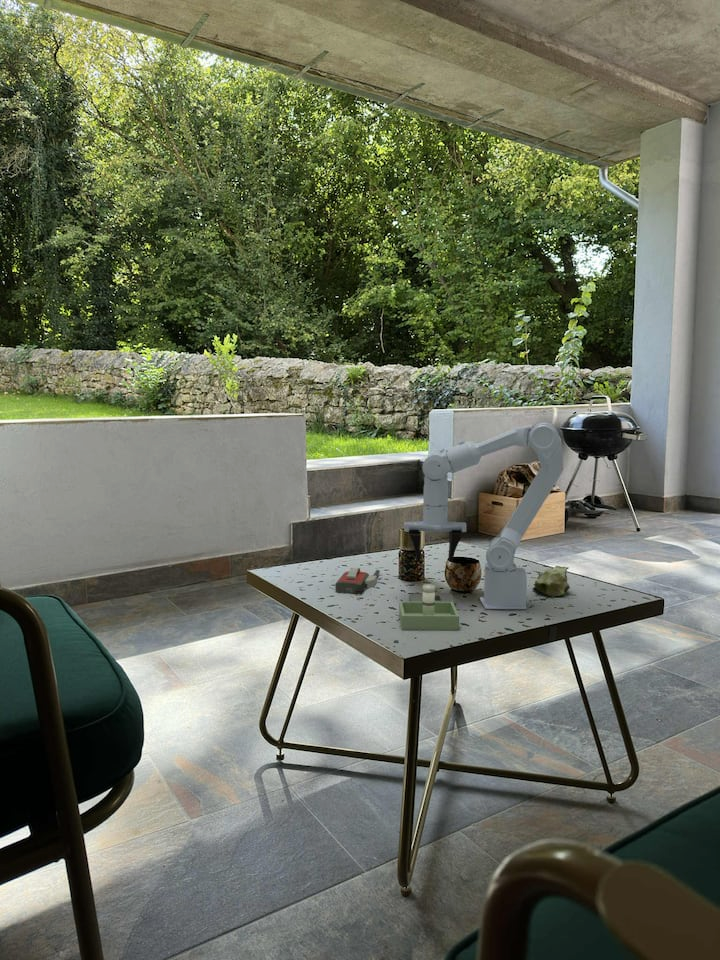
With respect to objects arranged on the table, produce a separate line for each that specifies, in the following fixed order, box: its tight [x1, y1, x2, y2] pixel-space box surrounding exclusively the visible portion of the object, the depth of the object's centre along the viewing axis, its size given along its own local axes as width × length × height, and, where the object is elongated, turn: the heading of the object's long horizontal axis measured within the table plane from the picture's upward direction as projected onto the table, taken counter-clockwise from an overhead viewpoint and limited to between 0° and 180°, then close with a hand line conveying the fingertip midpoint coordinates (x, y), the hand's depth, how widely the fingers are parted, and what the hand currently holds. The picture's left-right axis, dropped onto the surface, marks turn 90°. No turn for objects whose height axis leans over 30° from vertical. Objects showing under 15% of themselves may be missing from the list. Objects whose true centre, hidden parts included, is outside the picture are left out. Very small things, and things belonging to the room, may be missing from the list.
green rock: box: [532, 565, 571, 597], centre depth 178 cm, size 9×9×8 cm
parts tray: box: [398, 601, 460, 631], centre depth 156 cm, size 12×10×3 cm
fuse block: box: [408, 593, 457, 609], centre depth 167 cm, size 10×7×2 cm
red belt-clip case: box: [335, 567, 381, 595], centre depth 185 cm, size 9×4×20 cm
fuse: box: [422, 583, 436, 615], centre depth 156 cm, size 3×3×8 cm
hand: (434, 561), depth 172 cm, fingers open, 7 cm apart
